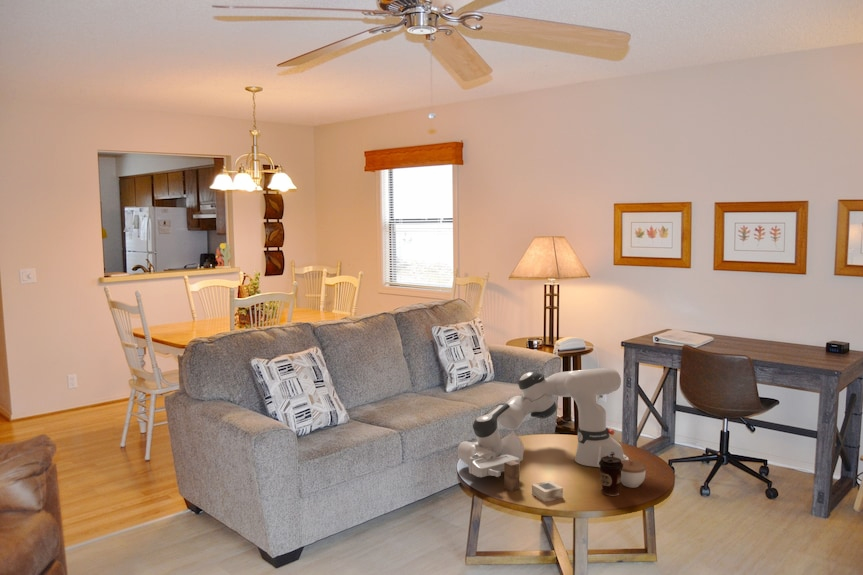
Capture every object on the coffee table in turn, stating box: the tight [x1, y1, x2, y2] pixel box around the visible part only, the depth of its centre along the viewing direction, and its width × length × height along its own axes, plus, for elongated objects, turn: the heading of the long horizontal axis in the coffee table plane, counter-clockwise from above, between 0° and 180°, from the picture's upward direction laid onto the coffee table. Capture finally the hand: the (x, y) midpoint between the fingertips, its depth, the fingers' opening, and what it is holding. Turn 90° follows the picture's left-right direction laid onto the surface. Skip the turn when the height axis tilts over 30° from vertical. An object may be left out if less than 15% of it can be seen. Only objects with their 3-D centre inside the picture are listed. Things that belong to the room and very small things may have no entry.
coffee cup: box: [599, 456, 623, 497], centre depth 252 cm, size 9×8×13 cm
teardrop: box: [500, 429, 525, 462], centre depth 289 cm, size 11×11×12 cm
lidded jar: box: [620, 459, 647, 489], centre depth 260 cm, size 11×11×9 cm
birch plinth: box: [531, 480, 564, 503], centre depth 251 cm, size 8×8×4 cm
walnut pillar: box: [503, 460, 520, 492], centre depth 258 cm, size 4×4×10 cm
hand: (508, 472), depth 258 cm, fingers open, 8 cm apart
